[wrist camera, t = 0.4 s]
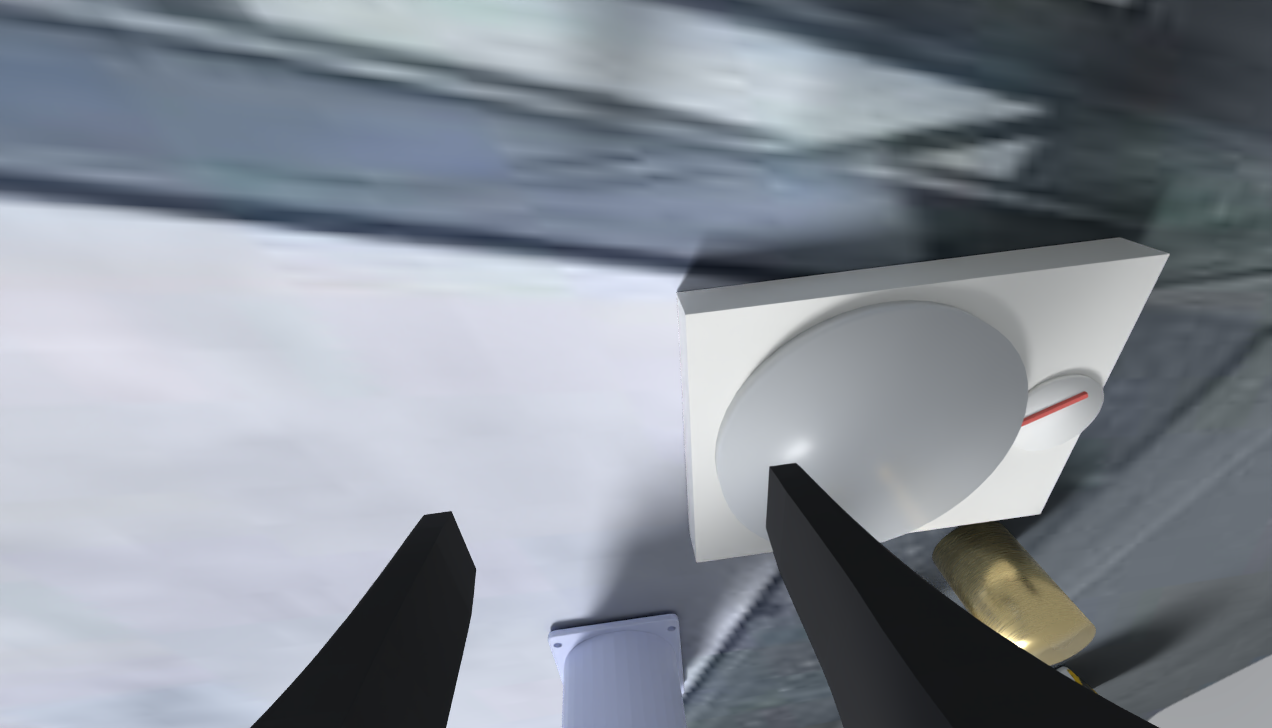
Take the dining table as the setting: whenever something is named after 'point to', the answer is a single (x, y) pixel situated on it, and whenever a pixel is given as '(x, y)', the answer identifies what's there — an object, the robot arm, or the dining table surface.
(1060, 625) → the cylinder
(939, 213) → the dining table surface
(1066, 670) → the medicine bottle
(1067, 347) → the kitchen scale
